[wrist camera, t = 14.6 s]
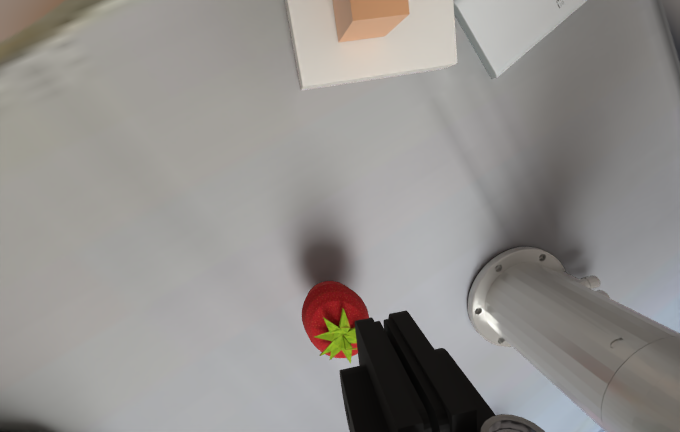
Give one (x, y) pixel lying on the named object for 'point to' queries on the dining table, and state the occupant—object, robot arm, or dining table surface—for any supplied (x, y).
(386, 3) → the plug
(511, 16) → the external hard drive
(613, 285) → the dining table surface
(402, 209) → the dining table surface
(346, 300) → the strawberry
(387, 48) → the socket
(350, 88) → the dining table surface
